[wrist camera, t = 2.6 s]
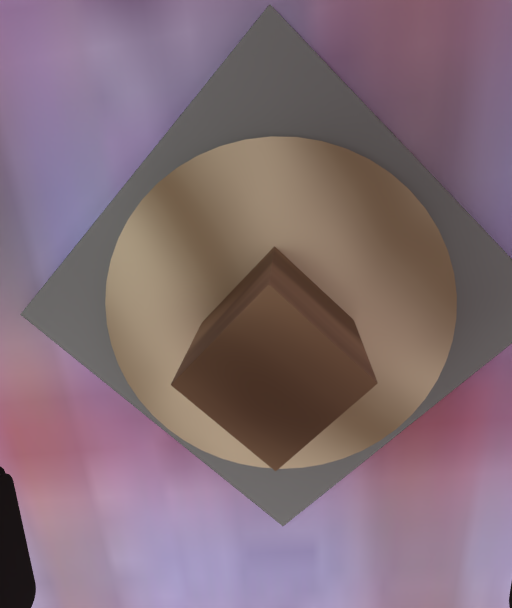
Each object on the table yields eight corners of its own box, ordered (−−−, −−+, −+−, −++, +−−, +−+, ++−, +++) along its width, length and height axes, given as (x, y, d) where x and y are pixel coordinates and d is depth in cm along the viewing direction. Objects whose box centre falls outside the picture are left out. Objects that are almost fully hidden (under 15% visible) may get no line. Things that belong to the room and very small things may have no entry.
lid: (269, 52, 16) (258, -4, 10) (518, 306, 18) (628, 381, 12) (53, 315, 20) (-48, 386, 14) (283, 501, 22) (281, 633, 16)
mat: (270, 9, 16) (269, 4, 16) (548, 301, 19) (556, 306, 18) (28, 309, 20) (20, 314, 20) (283, 516, 23) (282, 526, 22)
